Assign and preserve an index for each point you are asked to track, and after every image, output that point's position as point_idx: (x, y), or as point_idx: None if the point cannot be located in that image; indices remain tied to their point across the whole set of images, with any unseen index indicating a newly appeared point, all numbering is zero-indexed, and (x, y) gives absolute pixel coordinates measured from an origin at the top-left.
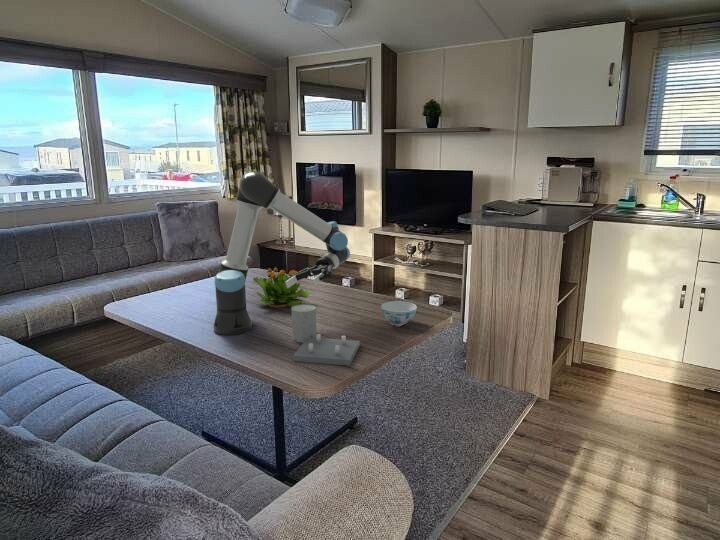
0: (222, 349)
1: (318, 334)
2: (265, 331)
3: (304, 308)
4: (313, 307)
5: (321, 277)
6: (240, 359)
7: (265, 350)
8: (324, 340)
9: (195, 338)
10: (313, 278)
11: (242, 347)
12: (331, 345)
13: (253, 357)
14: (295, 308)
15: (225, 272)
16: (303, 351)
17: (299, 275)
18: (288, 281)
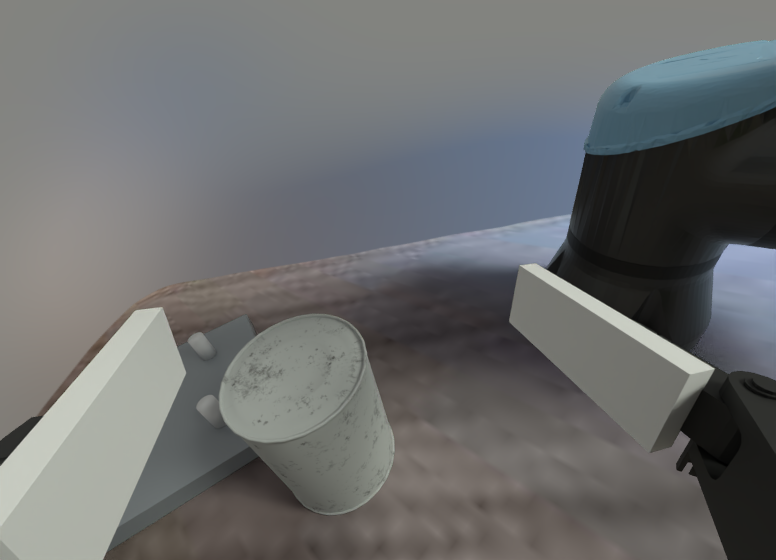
0: (445, 251)
1: (205, 402)
2: (518, 373)
3: (291, 372)
4: (247, 418)
5: (24, 435)
6: (363, 259)
7: (361, 307)
8: (206, 449)
9: (561, 231)
10: (150, 320)
11: (424, 279)
12: (158, 435)
13: (350, 277)
14: (331, 337)
15: (762, 46)
16: (233, 342)
17: (759, 480)
18: (536, 286)
